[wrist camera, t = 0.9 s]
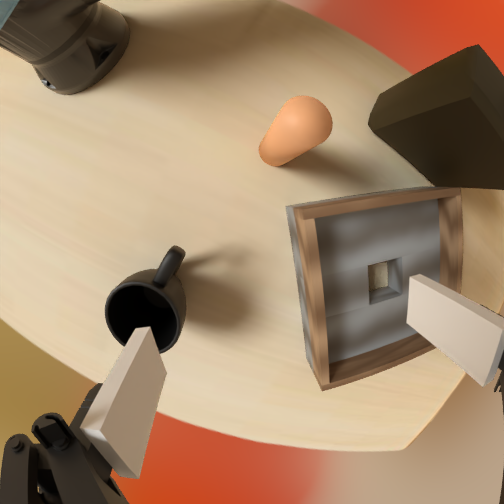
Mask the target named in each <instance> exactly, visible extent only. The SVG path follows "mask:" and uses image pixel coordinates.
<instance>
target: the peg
mask: <svg viewBox="0 0 504 504" xmlns="http://www.w3.org/2000/svg"><path fill="white" fill-rule="evenodd" d="M331 131H332V117H331V114H330V112H329V111H328V109H327V108H326V106H325V105H324V104H323V103H321V102H320V101H319V100H317V99H315V98H313V97H309V96H297V97H293V98H291V99H289V100H288V101H287V102H286V103H285V104H284V105H283V107H282V108H281V110H280V112H279V113H278V115H277V116H276V118H275V120H274V121H273V123H272V125H271V126H270V128H269V130H268V131H267V133H266V135H265V136H264V138H263V140H262V141H261V143H260V146H259V154H260V157H261V158H262V160H263V161H264V162H265V163H267V164H268V165H271V166H281V165H283V164H285V163H287V162H289V161H290V160H292V159H294V158H296V157H297V156H299V155H301V154H303V153H305V152H306V151H308V150H310V149H312V148H314V147H315V146H317V145H319V144H321V143H322V142H324V141H325V140H326V139H327V138H328V137H329V135H330V133H331Z"/></svg>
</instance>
